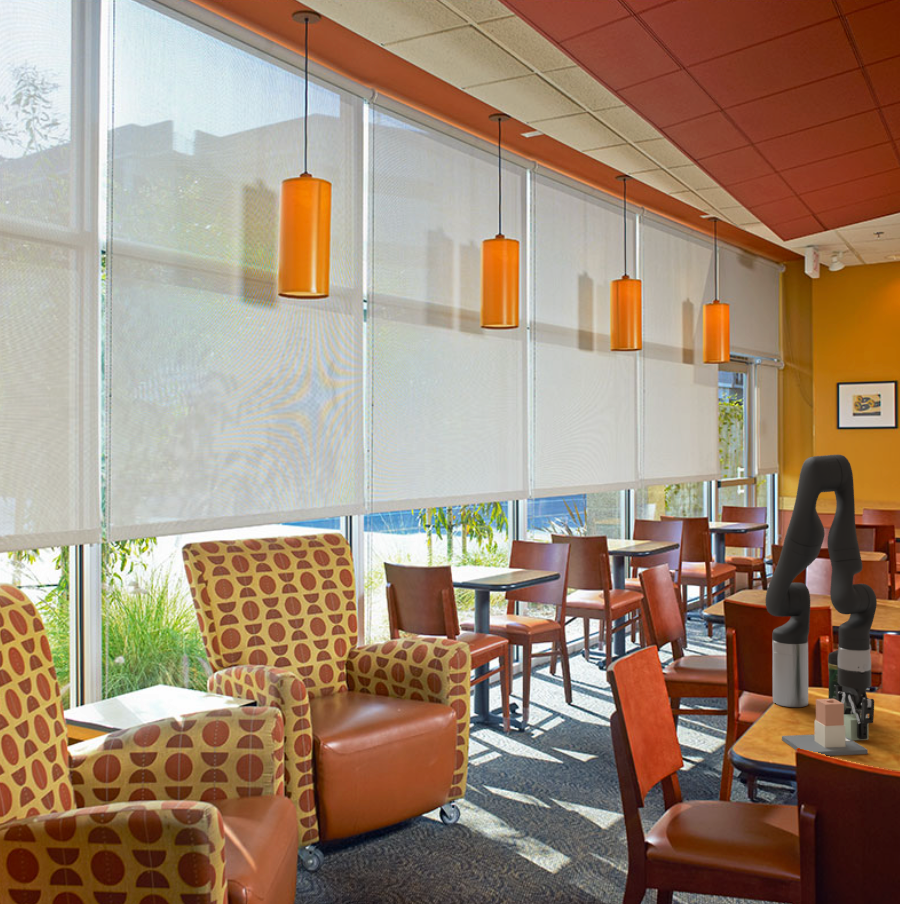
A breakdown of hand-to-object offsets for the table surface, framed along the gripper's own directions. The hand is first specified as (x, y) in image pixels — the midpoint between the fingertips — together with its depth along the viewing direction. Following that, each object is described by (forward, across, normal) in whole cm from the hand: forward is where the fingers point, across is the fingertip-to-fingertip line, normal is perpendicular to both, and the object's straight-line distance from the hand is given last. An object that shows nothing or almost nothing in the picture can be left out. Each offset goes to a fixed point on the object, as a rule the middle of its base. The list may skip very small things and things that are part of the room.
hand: (854, 734), depth 227 cm
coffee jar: (+1, -13, +5) cm, 14 cm away
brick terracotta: (-5, +7, -10) cm, 13 cm away
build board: (+1, +6, -11) cm, 13 cm away
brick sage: (+1, 0, 0) cm, 1 cm away
